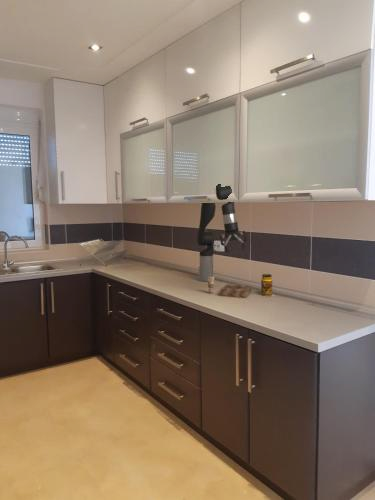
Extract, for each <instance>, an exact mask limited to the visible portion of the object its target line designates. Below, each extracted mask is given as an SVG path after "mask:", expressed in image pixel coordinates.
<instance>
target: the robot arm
mask: <svg viewBox="0 0 375 500" xmlns="http://www.w3.org/2000/svg"><path fill="white" fill-rule="evenodd" d="M230 186H231V185H227V186H225V187H221V184H218V185H217V186H216V190H215V197H216V199H218V200H220V201H224V200H228V199H227V198H228V196H229V195H230V194H231V193H232V189H231V187H230ZM216 207H217V206H216V203H215V202H214V203H202V202H201V207H200V219H199V225H198V231H197V236H196V243H197V245H198V246H202V247H203V246H206V248H204V249H202V250H200V251H199V266H198V281H199V282H208V276H214V247H215V246H214V242H215V236H214V235H215V234H214V232H212V231H206V228H207V227H208V225H209V224H210V223H211V221H212V220H213V219H214V218H215V215H216V213H215V212H216ZM221 213H222V222H223V228H224V233H225V234H224V233H223V234H220V235H219V237H220V245H221V246H224V250H225V252H226V253H229V248H228V244H229V241H231V242H232V241H236V240H238V241H239V242H240V245H241V250H242V251H243V250H244V249H245V243H246V242H247V240H248V239H247V236H246V231H245V230H242V231H240V229H239V224H238V218H237V215H236V209H235V201H234V202H229V201H228V202H227V203H224V204H222V205H221ZM240 234H241V235H242V237H243V239H242V238H241V237H240ZM224 238H226V240H225V242H224Z"/></svg>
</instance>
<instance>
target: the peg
mask: <svg viewBox="0 0 375 500" xmlns="http://www.w3.org/2000/svg"><path fill="white" fill-rule="evenodd" d="M207 287H208V294H209V295H213V294H214V291H215V276H214V275H213V276H208V281H207Z"/></svg>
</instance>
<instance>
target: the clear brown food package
mask: <svg viewBox="0 0 375 500" xmlns="http://www.w3.org/2000/svg"><path fill="white" fill-rule="evenodd" d="M252 288H253V287H252V285H242V284H241V285H239V284H225V285H223V287H221V288H220V289H219V297H228V298H238V299H239V298H243V299H247V298H248V297H249V295H251V294H252Z"/></svg>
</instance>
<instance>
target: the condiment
mask: <svg viewBox="0 0 375 500" xmlns="http://www.w3.org/2000/svg"><path fill="white" fill-rule="evenodd" d="M272 276H273V275H272V274H270V273H263V274H262V276H261V282H260V283H261V286H260V287H261V290H260V291H261V293H258V296H261V297H263V298H267V297H270V298H271V297H275V296H276V295H275V294H273V277H272Z"/></svg>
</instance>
